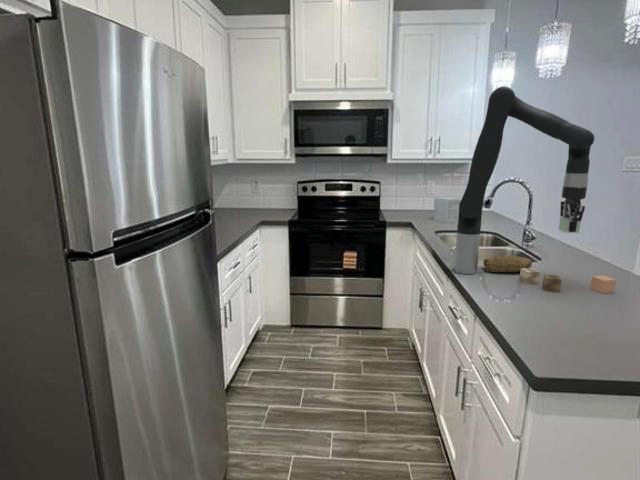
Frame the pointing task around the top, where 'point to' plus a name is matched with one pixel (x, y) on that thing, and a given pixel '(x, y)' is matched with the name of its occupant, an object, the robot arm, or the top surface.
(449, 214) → the supplement box
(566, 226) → the sage block
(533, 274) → the maple block
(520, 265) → the sponge
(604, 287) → the terracotta block
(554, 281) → the walnut block
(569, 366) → the top surface
